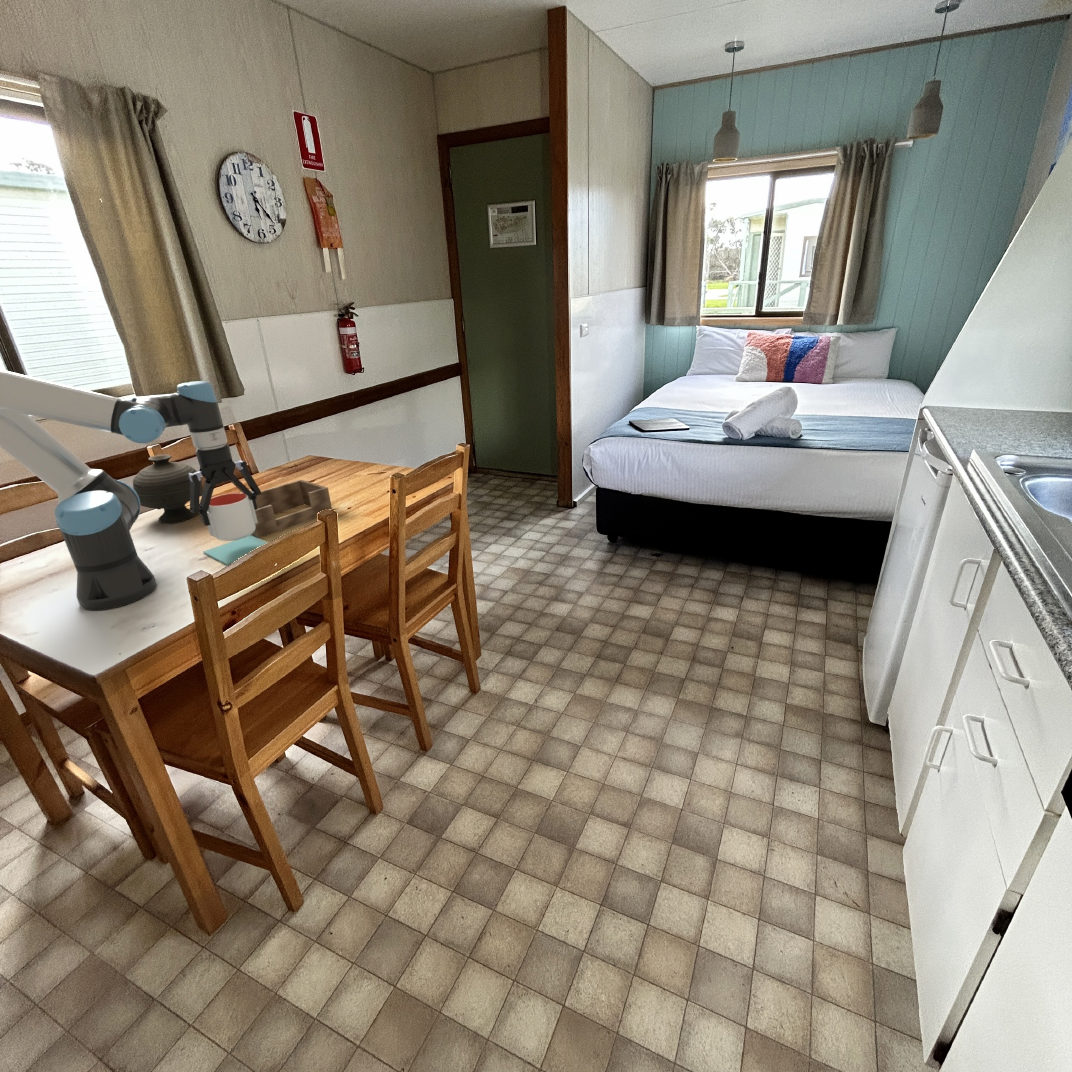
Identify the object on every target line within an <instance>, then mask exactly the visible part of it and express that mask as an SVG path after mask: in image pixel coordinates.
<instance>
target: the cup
mask: <svg viewBox="0 0 1072 1072" xmlns="http://www.w3.org/2000/svg"><path fill="white" fill-rule="evenodd" d="M208 512H210V513H211V514H212V518H213V521H214V524H215V528H216V531H217V535H218V537H215V538H216V539H217V540H219V541H222V542H223V541H224V542H232V541H235V540H239V539H242V538H245V537H247V536H249V535H251V534H252V533H253V532H254V531H255V529H256V526H255V522H254V518H253V514H252V510H251V507H250V503H249V499H248V496H247V495H246V494H243V493H242V492H231V493H225V494H220V495H216V496H212V497H211V501H210V504H209V508H208Z"/></svg>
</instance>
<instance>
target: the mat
mask: <svg viewBox="0 0 1072 1072" xmlns="http://www.w3.org/2000/svg"><path fill="white" fill-rule="evenodd" d="M266 543H269V542H267V541H265V540H263V539H261V538H259V539H258V538H256V537H254V536H252V535H249V536H247V537H245V538H242V539H239V540H233V541H228V542H226V543H223V544H221V545H219V546H214V547H212V548H209V549H206V550H204V551H202V553H203V554H204V555H206V556H208V557H209V558H211V559H213V560H215V561H217V562H219V563H221V564H223V565H225V566H227V565H228V566H229V565H230V566H231V565H232V564H231V563H233V562H234V561H236V560H238V558H240V557H242V556H244V555H245V554H248V553H249V552H250V551H252V550H254V549H256V548H257V547H259V546H262V545H264V544H266ZM233 564H234V563H233Z"/></svg>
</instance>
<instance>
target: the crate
mask: <svg viewBox="0 0 1072 1072" xmlns="http://www.w3.org/2000/svg"><path fill="white" fill-rule="evenodd" d="M260 491H261V494H260V495H257V498H256V499H255V500H256V504H257V510H255V513H256V517H257V521H258V523H256V524H255V526H256V529H255V531H254V532H253V533H252V534H251V535H252V536H254V537H256V538H258V539H261V538H264V537H267V536H270V535H272V534H276V533H278V532H282V531H284V530H287V529H289V528H292V527H295V526H299V525H300V524H304V523H306V522H309V521H312V520H315V519H318V518H317V513H318V512H320V511H322V510H325V509H332V510H333V507H332V501H331V497H330V496H331V495H330V491H329V488H328V487H327V486H324V485H321V484H317V483H314V482H309V481H307V480H304V479H298V480H294V481H290V482H288V483H285V484H282V485H278V486H275V487H274V486H273V487H270V488H267V489H264V490H260ZM301 506H308V507H307V508H304V509H300V510H298V511H295V512H292V513H288V514H285V515H283V516H280V517H277V518H276V516H275V515H278V514H280V513H283V512H286V511H287V512H288V511H290V510H293V509H296V508H298V507H301Z"/></svg>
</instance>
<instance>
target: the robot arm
mask: <svg viewBox="0 0 1072 1072" xmlns="http://www.w3.org/2000/svg"><path fill="white" fill-rule="evenodd" d="M176 389H177V390H176V392H174V393H168V394H156V395H155V394H154V395H153V394H152V395H145V396H139V395H137V396H135V397H133V396H132V397H128V398H124V399H123V398H119V397H116V396H111V395H107V394H103V393H99V392H96V391H95V392H94V391H91V390H87V389H83V388H79V387H74V386H70V385H65V384H61V383H58V382H55V381H54V382H53V381H50V380H47V379H42V378H38V377H34V376H28V375H24V374H21V373H17V372H13V371H9V370H4V369H1V368H0V448H1V449H2V450H4V451H5V452H6V453H7V454H9V456H10V457H13V459H15V461H17V462H18V463H20V464H21V465H22V466H24V467H25V468H26V469H27V470H28V471H29V472H31V473H32V474H33V475H34V476H36V477H37V478H38V479H40V481H42V482H43V483H45V484H46V485H47V486H48V487H50V488H51V490H53V491H55V492H56V494H57V503H58V504H57V505H56V507H55V509H54V515H55V522H56V525H57V527H58V529H59V531H60V533H61V535H62V537H63V540H64V543H65V546H66V548H67V550H68V552H69V555H70V557H71V560H72V562H73V565H74V567H75V570H76V599H77V601H78V604H79V606H80V608H82V609H83V610H88V611H102V610H110V609H114V608H119V607H124V606H126V605H129V604H132V603H135V602H137V601H139V600H141V599H143V598H145V597H147V596H148V595H150V594H151V593H152V592H153V591H155V589H156V588H157V586H158V583H157V581H156V577H155V575H154V574H153V572H152V571H151V570H150V569H149V567H148V566H147V565H146V564H145V563H144V561H143V560H142V559H141V558H140V557H139V555H138V552H137V549H136V546H135V543H134V541H133V540H134V539H133V538H132V535H131V532H130V531H131V529H132V527H133V525H134V524H135V523H136V522H137V519H138V518H139V517H140V512H141V511H140V510H141V505H140V499H139V496H138V494H137V493H136V491H135V490H134V488H133V486H131V485H130V484H128V483H127V482H125V481H122V480H119V479H114V478H113V477H112V476H110V475H109V474H108V473H107V472H106V471H105V470H103V469H101V468H100V469H98V468H90V467H89V465H87V464H86V463H85V462H84V461H82V459H80V458H79V457H78V456H77V455H75V454H74V453H73V452H72V450H70V449H68V447H66V446H65V445H64V444H63V443H62V442H60V441H59V440H58V439H57V438H56V437H55V436H54V435H52V434H51V433H50V432H49V431H48V430H47V429H46V428H44V427H43V426H42V425H41V424H40V423H39V422H37V421H36V420H35V419H34V418H32V417H36V418H41V419H46V420H52V421H55V422H59V423H65V424H69V425H70V424H71V425H74V426H79V427H84V428H89V429H92V430H98V431H102V432H107V433H111V434H116V435H120V436H123V437H124V438H126V439H127V440H128V441H130V442H132V443H137V444H148V443H149V444H150V443H152V442H154V441H156V440H157V439H159V438H160V437H161V436H162V435H163V433H164V432H165V429H166V428H170V427H178V426H184V425H185V426H186V425H187V427H188V430H189V434H190V437H191V441H192V444H193V448H196V449H195V450H194V451H195V455H196V459H197V461H198V465H199V471H197V472H196V473H189V474H188V478H189V481H190V501H189V509H190V511H191V512H193V513H195V514H196V515H198V514H199V516H200V520H201V523H202V525H203V526H205V527H206V526H207V529H208V533H209V535H210V536H211V537H213V538H216V537H218V535H217V531H216V528H215V524H214V521H213V518H212V514H211V513H210V512H208V508H209V504H210V501H211V498H213V494H214V493H213V492H214V489H215V488H216V486H217V485H220V484H222V483H225V482H226V483H227V482H231V483H232V484H233V485H234V486H235V487H236V488H237V489H238V490H239V491H240V493H243V494H246V495H247V496H248V499H249V503H250V507H251V510H252V514H253V518H254V522H255V524H256V523H258V521H257V517H256V513H255V510H257V504H256V500H255V499H256V498H257V495H260V494H261V491H262V490H261V489H260V487H259V485H258V484H257V481H255V479H254V477H253V475H252V474H251V473H250V471H249V469H248V463H247V462H246V461H245V460H240V459H239V460H238V461H234V460H233V456H232V452H231V449H230V445H228V438H227V433H226V430H225V426H224V423H223V419H222V415H221V410H220V407H219V402H218V399H217V397H216V393H215V391H214V387H213V385H212V383H211V382H208V381H206V380H198V381H195V380H194V381H189V382H182V383H179V384H178V385H177V386H176ZM31 416H32V417H31ZM235 469H237V470H239V472H240V474H241V477H243V479H244V481H245V482H246V484H247V486H248V487H249V488H248V487H247V486H246V485H245V484H244V483H243V482H242V481H241V480H240V479H239V478H238V476H236V475H235V473H234V472H235V471H236V470H235ZM201 477H203V478H205V480H204V483H203V484H204V486H203V493H202V496H201V498H200V483H199V481H200V480H201V481H202V479H201Z"/></svg>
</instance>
